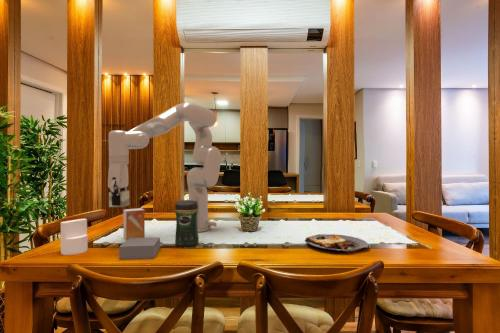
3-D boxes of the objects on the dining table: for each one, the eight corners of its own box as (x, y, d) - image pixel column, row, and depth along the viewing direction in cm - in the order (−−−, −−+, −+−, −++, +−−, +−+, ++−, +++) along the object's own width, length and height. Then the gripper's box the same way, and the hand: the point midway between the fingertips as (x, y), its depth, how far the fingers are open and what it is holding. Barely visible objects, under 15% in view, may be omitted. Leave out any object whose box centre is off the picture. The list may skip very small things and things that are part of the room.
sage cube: (129, 204, 130) (129, 190, 130) (123, 206, 124) (123, 192, 124) (115, 204, 130) (115, 190, 130) (109, 207, 124) (108, 192, 124)
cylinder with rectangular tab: (68, 256, 113) (68, 224, 113) (56, 252, 118) (55, 221, 117) (92, 250, 121) (91, 219, 120) (79, 246, 125) (79, 217, 125)
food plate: (331, 257, 111) (332, 248, 111) (294, 243, 131) (294, 234, 131) (379, 250, 122) (379, 241, 122) (337, 237, 143) (338, 230, 143)
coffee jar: (199, 241, 133) (199, 199, 133) (196, 246, 125) (196, 201, 125) (177, 241, 133) (177, 199, 133) (173, 246, 125) (172, 201, 125)
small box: (126, 240, 135) (125, 211, 134) (123, 237, 140) (123, 209, 140) (145, 238, 139) (144, 209, 139) (141, 235, 144) (141, 207, 144)
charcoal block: (160, 249, 122) (160, 237, 122) (153, 259, 110) (153, 245, 110) (129, 250, 121) (128, 238, 121) (119, 260, 109) (119, 246, 109)
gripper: (118, 160, 135) (119, 201, 135) (99, 160, 118) (100, 207, 118) (135, 160, 135) (136, 201, 135) (119, 160, 118) (120, 207, 118)
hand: (119, 203), depth 127 cm, fingers closed on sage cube, 6 cm apart
